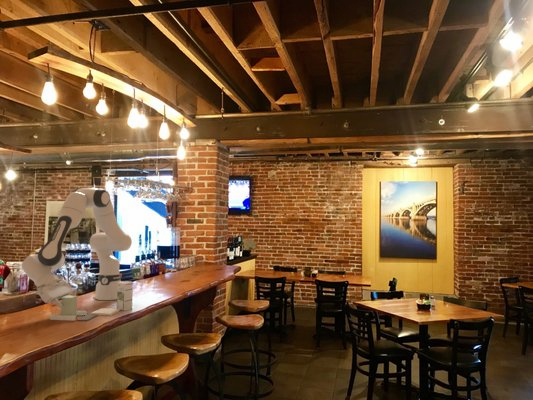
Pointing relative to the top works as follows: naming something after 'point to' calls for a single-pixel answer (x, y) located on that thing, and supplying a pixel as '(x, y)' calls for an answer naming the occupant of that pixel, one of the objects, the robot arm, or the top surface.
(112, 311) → the coaster board
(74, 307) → the sage block
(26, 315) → the top surface
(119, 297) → the syrup box
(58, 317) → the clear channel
